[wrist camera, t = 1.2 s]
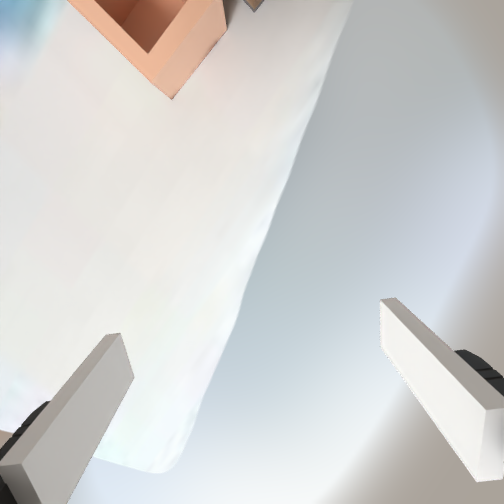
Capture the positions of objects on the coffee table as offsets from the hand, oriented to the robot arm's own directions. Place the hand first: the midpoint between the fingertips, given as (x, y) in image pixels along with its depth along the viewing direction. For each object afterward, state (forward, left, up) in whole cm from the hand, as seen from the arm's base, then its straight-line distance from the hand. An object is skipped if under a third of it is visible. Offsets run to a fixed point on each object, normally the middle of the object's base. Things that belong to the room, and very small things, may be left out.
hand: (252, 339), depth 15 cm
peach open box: (-21, +9, -22) cm, 32 cm away
